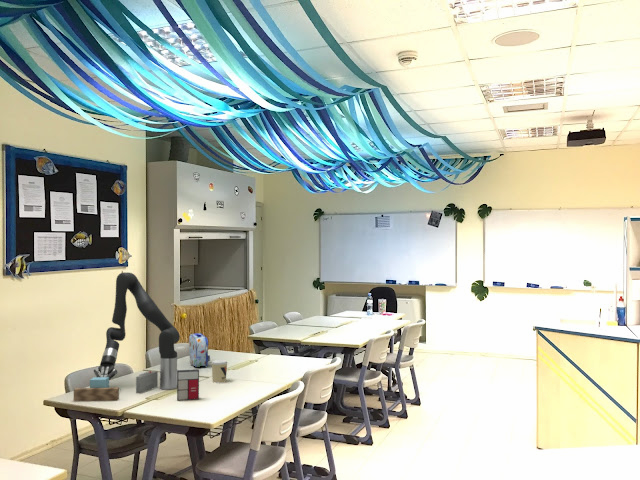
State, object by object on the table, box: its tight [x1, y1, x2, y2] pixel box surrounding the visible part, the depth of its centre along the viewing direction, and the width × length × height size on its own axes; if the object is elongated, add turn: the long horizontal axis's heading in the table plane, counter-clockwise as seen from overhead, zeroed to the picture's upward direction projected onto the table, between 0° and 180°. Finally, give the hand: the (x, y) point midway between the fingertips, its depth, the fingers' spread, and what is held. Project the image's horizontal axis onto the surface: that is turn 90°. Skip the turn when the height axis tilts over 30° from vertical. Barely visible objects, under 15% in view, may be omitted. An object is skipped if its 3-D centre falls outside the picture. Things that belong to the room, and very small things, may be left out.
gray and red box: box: [176, 368, 200, 401], centre depth 286 cm, size 11×4×15 cm, turn 105°
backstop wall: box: [73, 387, 120, 402], centre depth 292 cm, size 22×22×6 cm
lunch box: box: [188, 332, 211, 368], centre depth 372 cm, size 28×10×22 cm, turn 25°
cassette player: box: [135, 370, 159, 394], centre depth 304 cm, size 16×3×10 cm, turn 162°
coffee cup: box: [211, 359, 228, 383], centre depth 325 cm, size 9×9×12 cm
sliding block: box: [89, 376, 110, 388], centre depth 288 cm, size 8×6×9 cm
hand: (101, 385), depth 291 cm, fingers closed
